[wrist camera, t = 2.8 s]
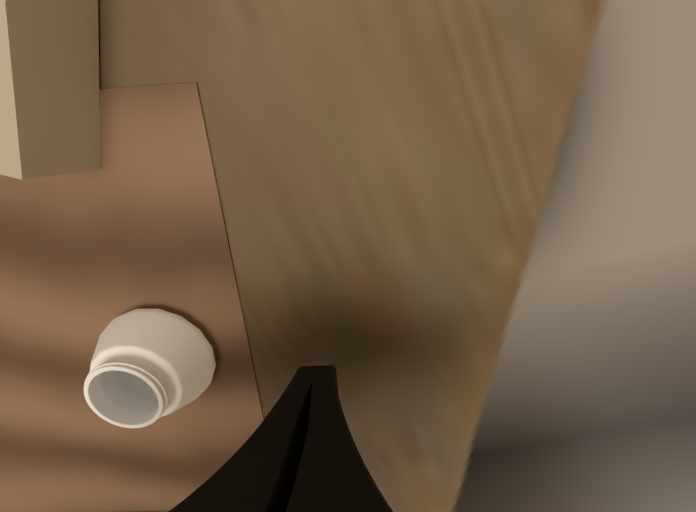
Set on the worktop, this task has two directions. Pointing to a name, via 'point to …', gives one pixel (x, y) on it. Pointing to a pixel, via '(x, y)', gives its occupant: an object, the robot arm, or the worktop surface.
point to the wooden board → (118, 312)
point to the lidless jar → (147, 367)
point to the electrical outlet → (49, 87)
